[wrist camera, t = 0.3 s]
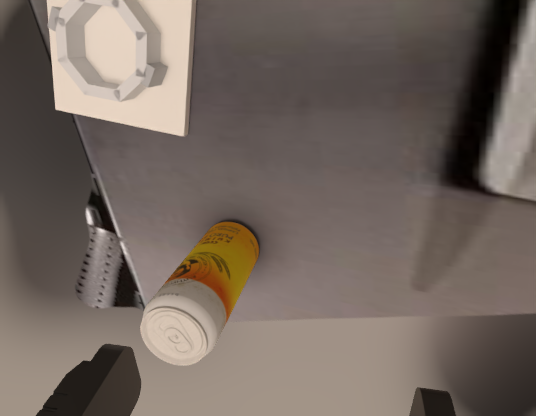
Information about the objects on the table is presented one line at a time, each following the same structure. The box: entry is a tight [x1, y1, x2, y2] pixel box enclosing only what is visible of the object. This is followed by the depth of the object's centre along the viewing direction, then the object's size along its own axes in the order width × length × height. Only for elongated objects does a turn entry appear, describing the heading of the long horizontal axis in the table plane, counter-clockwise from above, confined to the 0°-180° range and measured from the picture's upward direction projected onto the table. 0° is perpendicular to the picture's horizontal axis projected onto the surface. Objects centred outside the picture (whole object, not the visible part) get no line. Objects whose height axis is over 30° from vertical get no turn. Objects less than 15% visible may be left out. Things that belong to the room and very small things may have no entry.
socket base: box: [47, 0, 196, 136], centre depth 35 cm, size 14×14×4 cm
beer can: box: [140, 222, 259, 366], centre depth 35 cm, size 6×6×15 cm
